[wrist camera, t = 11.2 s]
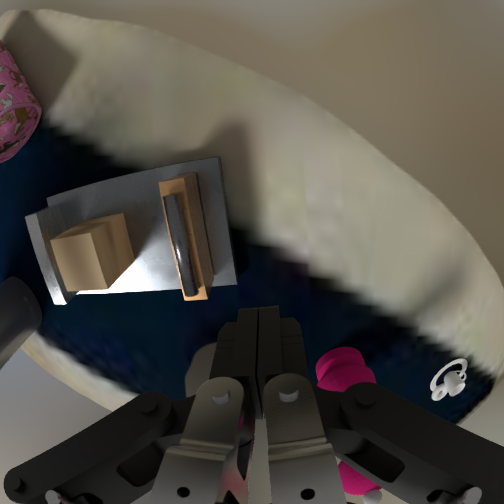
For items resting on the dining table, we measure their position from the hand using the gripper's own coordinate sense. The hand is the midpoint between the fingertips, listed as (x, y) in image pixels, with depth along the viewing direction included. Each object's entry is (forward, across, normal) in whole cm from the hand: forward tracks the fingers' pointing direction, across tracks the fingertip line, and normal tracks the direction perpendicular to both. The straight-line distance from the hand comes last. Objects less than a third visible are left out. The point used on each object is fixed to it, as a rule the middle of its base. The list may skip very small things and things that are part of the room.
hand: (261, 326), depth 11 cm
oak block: (+15, +16, 0) cm, 22 cm away
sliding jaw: (+15, +6, 0) cm, 16 cm away
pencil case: (+17, +30, -22) cm, 41 cm away
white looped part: (+17, -26, +30) cm, 43 cm away
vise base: (+16, +13, 0) cm, 21 cm away
